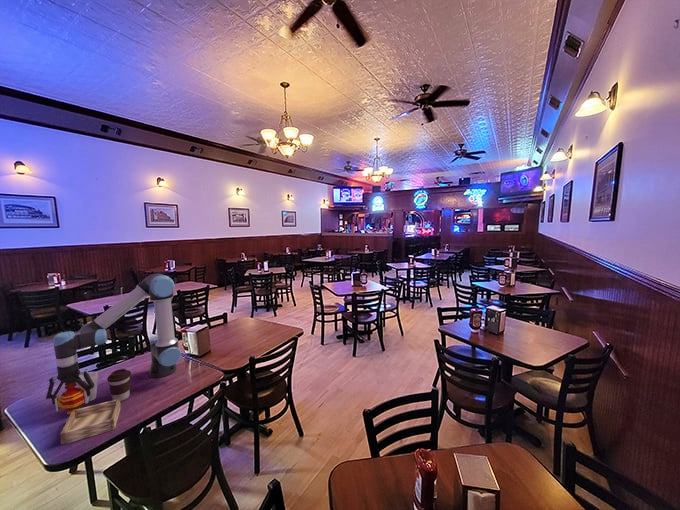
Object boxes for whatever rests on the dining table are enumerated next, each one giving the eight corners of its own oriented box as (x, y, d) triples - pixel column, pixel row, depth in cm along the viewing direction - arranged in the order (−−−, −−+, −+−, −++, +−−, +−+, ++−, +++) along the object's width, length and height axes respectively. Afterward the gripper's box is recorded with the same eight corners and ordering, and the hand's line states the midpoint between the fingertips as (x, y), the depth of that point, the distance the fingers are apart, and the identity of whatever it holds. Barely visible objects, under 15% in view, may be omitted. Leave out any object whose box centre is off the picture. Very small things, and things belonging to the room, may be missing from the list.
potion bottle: (71, 404, 145) (68, 377, 144) (93, 403, 146) (89, 376, 145) (52, 418, 135) (48, 389, 133) (75, 417, 136) (72, 388, 134)
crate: (120, 407, 145) (119, 398, 144) (114, 429, 129) (113, 419, 129) (73, 420, 136) (72, 409, 135) (61, 445, 120) (60, 433, 120)
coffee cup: (136, 394, 156) (134, 369, 154) (117, 405, 146) (115, 378, 145) (124, 391, 159) (122, 366, 157) (105, 401, 150) (102, 374, 148)
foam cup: (86, 405, 146) (83, 382, 145) (72, 403, 148) (69, 380, 147) (104, 394, 156) (102, 372, 154) (91, 392, 157) (89, 370, 156)
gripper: (99, 354, 147) (103, 394, 149) (38, 366, 135) (44, 409, 138) (95, 361, 140) (100, 402, 143) (31, 373, 129) (38, 418, 131)
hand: (73, 405), depth 140 cm, fingers closed on potion bottle, 10 cm apart
